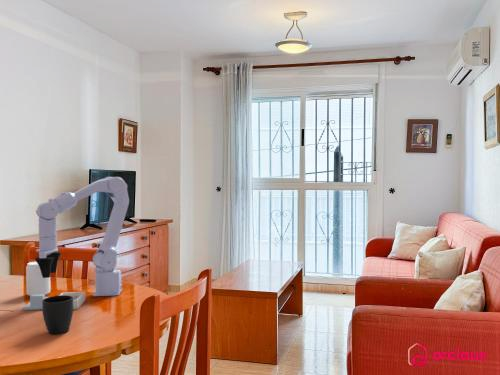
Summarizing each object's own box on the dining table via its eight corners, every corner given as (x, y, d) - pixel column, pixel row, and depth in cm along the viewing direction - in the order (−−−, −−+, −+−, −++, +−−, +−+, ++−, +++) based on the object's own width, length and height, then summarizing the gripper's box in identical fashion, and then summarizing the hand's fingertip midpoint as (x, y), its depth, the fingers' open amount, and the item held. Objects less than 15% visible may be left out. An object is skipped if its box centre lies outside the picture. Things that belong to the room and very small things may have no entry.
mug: (72, 321, 146) (71, 291, 146) (74, 333, 135) (73, 300, 135) (43, 325, 143) (42, 294, 143) (43, 338, 132) (42, 304, 132)
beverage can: (54, 291, 183) (53, 260, 183) (43, 297, 175) (42, 265, 175) (34, 291, 184) (33, 260, 184) (22, 297, 176) (21, 264, 176)
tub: (85, 299, 171) (85, 291, 171) (77, 309, 159) (77, 300, 159) (62, 300, 170) (62, 292, 170) (52, 310, 158) (52, 301, 158)
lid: (60, 298, 172) (59, 286, 172) (49, 308, 159) (49, 296, 159) (35, 299, 171) (35, 287, 171) (22, 309, 159) (22, 297, 158)
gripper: (42, 234, 174) (43, 271, 174) (29, 240, 160) (30, 280, 160) (62, 233, 175) (63, 270, 175) (51, 239, 160) (52, 279, 161)
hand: (49, 275), depth 168 cm, fingers open, 7 cm apart
